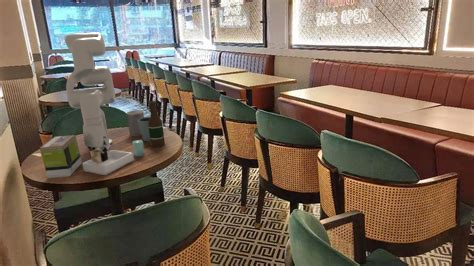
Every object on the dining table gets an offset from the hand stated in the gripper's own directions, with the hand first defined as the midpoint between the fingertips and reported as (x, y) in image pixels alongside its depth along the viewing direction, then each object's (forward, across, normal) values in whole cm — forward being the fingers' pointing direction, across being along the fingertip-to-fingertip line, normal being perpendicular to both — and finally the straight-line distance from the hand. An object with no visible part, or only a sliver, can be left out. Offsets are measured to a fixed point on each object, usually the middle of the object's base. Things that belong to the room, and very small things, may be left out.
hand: (100, 159), depth 149 cm
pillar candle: (+5, -21, +49) cm, 53 cm away
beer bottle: (+5, +4, +36) cm, 36 cm away
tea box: (+5, -16, -6) cm, 18 cm away
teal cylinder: (+5, +4, +21) cm, 22 cm away
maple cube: (0, 0, 0) cm, 0 cm away
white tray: (+5, 0, +5) cm, 7 cm away
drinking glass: (+5, -7, +43) cm, 43 cm away
